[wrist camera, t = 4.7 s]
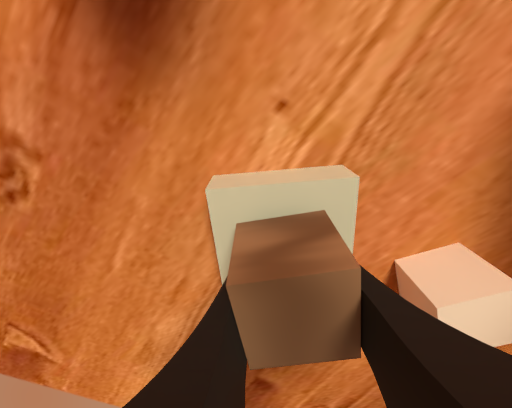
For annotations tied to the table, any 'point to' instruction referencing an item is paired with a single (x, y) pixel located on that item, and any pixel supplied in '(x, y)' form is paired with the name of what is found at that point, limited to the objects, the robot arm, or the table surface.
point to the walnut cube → (294, 291)
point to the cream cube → (459, 291)
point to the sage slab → (280, 201)
